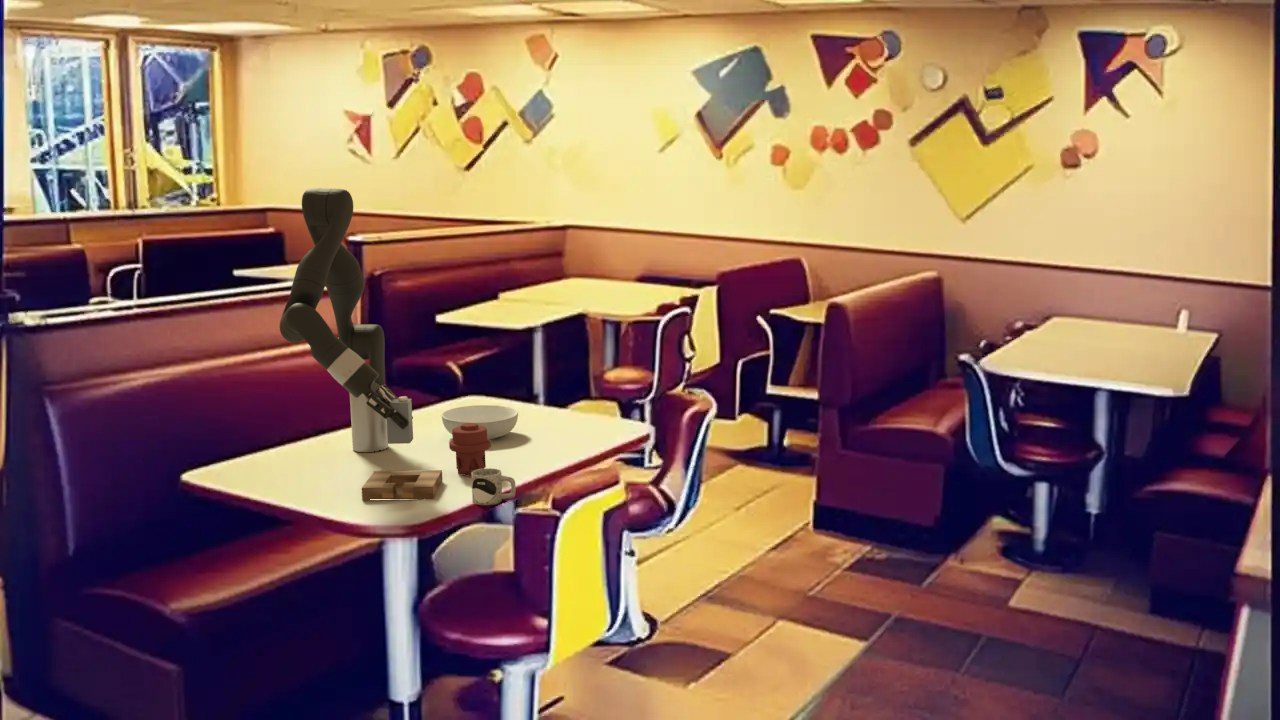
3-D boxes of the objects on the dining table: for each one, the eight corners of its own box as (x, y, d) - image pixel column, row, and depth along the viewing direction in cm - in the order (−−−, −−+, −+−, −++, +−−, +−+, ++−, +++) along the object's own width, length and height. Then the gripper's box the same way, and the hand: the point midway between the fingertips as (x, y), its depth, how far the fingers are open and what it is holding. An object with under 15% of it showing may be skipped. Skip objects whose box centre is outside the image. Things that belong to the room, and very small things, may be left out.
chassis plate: (374, 483, 278) (374, 471, 277) (442, 482, 278) (441, 470, 278) (362, 500, 264) (361, 487, 264) (433, 499, 265) (432, 486, 264)
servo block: (391, 439, 271) (389, 395, 270) (413, 438, 271) (411, 395, 270) (387, 443, 267) (385, 399, 265) (409, 443, 267) (407, 399, 265)
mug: (468, 504, 260) (467, 475, 259) (477, 496, 267) (476, 467, 266) (511, 506, 259) (510, 477, 258) (520, 497, 265) (519, 469, 264)
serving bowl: (441, 448, 311) (440, 422, 310) (444, 430, 332) (442, 406, 330) (519, 444, 314) (519, 419, 313) (517, 426, 334) (517, 403, 333)
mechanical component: (442, 475, 285) (472, 466, 292) (470, 481, 278) (500, 472, 286) (439, 425, 282) (470, 418, 290) (468, 431, 276) (498, 423, 284)
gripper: (357, 366, 259) (414, 419, 261) (370, 355, 273) (424, 405, 275) (334, 390, 260) (391, 442, 262) (348, 378, 274) (403, 428, 276)
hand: (408, 423), depth 268 cm, fingers closed on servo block, 4 cm apart
